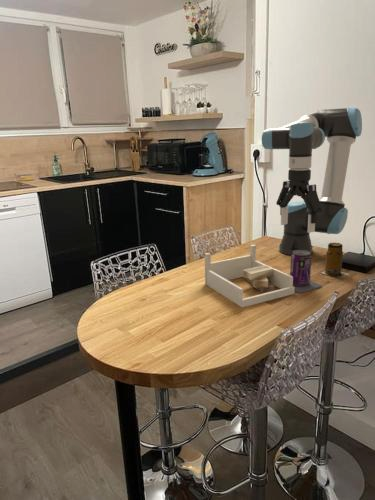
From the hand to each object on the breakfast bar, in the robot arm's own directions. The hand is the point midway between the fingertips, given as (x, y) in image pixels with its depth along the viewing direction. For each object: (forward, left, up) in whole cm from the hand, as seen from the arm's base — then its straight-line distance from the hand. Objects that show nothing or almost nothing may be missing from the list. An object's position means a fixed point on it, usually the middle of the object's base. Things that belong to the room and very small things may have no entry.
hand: (297, 228), depth 140 cm
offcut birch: (+15, -2, -16) cm, 22 cm away
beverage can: (+2, +5, -20) cm, 21 cm away
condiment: (-18, +3, -21) cm, 28 cm away
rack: (+20, -2, -20) cm, 29 cm away
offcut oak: (+15, -2, -19) cm, 24 cm away
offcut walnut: (+14, -2, -21) cm, 26 cm away
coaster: (+2, +5, -20) cm, 21 cm away
